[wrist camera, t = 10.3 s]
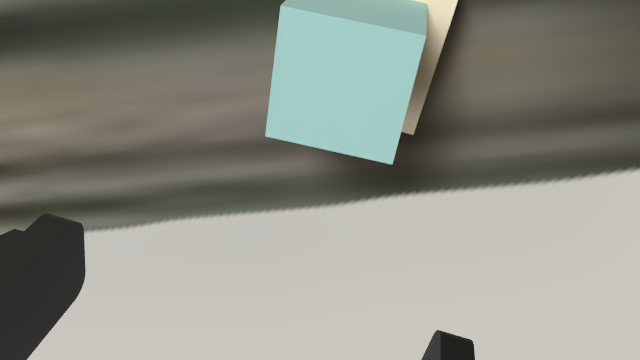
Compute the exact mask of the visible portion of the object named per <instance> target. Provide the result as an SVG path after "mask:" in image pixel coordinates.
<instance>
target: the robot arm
mask: <svg viewBox="0 0 640 360" xmlns="http://www.w3.org/2000/svg"><path fill="white" fill-rule="evenodd" d="M84 279H85V250H84V229H83V226H82V224H81V223H79V222H75V221H72V220H68V219H65V218H62V217H58V216H55V215H52V214H44V215H42V216H40V217H39V218H38V219H37V220H36V221H35V222H34V223H33V224H32V225H30V226H29V227H28V228H27V229H26V230H25V231H24V232H23V231H20V230H17V229H13V230H11V231H9V232H7V233H5V234H2V235H0V360H27V359H28V357H29V356H30V355H31V354H32V352H33V351H34V350H35V349H36V347H37V346H38V345H39V344H40V342H41V341H42V340H43V339H44V338H45V336H46V335H47V334H48V333H49V331H50V330H51V329H52V328H53V326H54V325H55V324H56V323H57V322H58V320H59V319H60V318H61V317H62V315H63V314H64V313H65V311H66V310H67V309H68V308H69V307H70V305H71V304H72V303H73V302H74V301H75V299H76V298H77V296H78V294H79V292H80V290H81V288H82V285H83V283H84ZM422 360H475V356H474V344H473V342H472V340H470V339H466V338H463V337H460V336H456V335H453V334H449V333H446V332H443V331H439V330H437V331H436V332H435V333H434V335H433V337H432V339H431V341H430V343H429V346H428V348H427V349H426V351H425V354H424V356H423V358H422Z"/></svg>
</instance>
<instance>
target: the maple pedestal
mask: <svg viewBox="0 0 640 360" xmlns="http://www.w3.org/2000/svg"><path fill="white" fill-rule="evenodd" d="M413 1H418V2H423V3H427V27H426V39H425V43H424V47H423V51H422V54H421V58H420V62H419V66H418V70H417V73H416V77H415V81H414V85H413V89H412V92H411V96H410V100H409V104H408V108H407V111H406V115H405V119H404V123H403V127H402V130H401V132H404V133H408V134H412V135H414V132H415V129H416V126H417V123H418V120H419V117H420V114H421V110H422V107H423V104H424V101H425V98H426V95H427V92H428V89H429V86H430V83H431V80H432V77H433V74H434V71H435V68H436V65H437V62H438V59H439V56H440V53H441V50H442V47H443V44H444V41H445V38H446V35H447V32H448V29H449V26H450V23H451V20H452V17H453V14H454V11H455V8H456V5H457V2H458V0H413Z"/></svg>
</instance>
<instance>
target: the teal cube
mask: <svg viewBox="0 0 640 360" xmlns="http://www.w3.org/2000/svg"><path fill="white" fill-rule="evenodd" d="M426 27H427V3H423V2H418V1H413V0H286V1H285V2H284V3H283V4H282V5H281V7H280V15H279V24H278V32H277V40H276V49H275V57H274V66H273V74H272V83H271V91H270V100H269V108H268V117H267V125H266V134H265V136H267V137H271V138H276V139H280V140H284V141H289V142H293V143H298V144H302V145H307V146H311V147H316V148H320V149H325V150H329V151H334V152H338V153H343V154H347V155H351V156H356V157H360V158H365V159H369V160H374V161H378V162H383V163H387V164H392V165H393V161H394V157H395V153H396V149H397V146H398V142H399V138H400V134H401V130H402V127H403V123H404V119H405V115H406V111H407V108H408V104H409V100H410V96H411V92H412V89H413V85H414V81H415V77H416V73H417V70H418V66H419V62H420V58H421V54H422V51H423V47H424V43H425V39H426Z"/></svg>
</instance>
